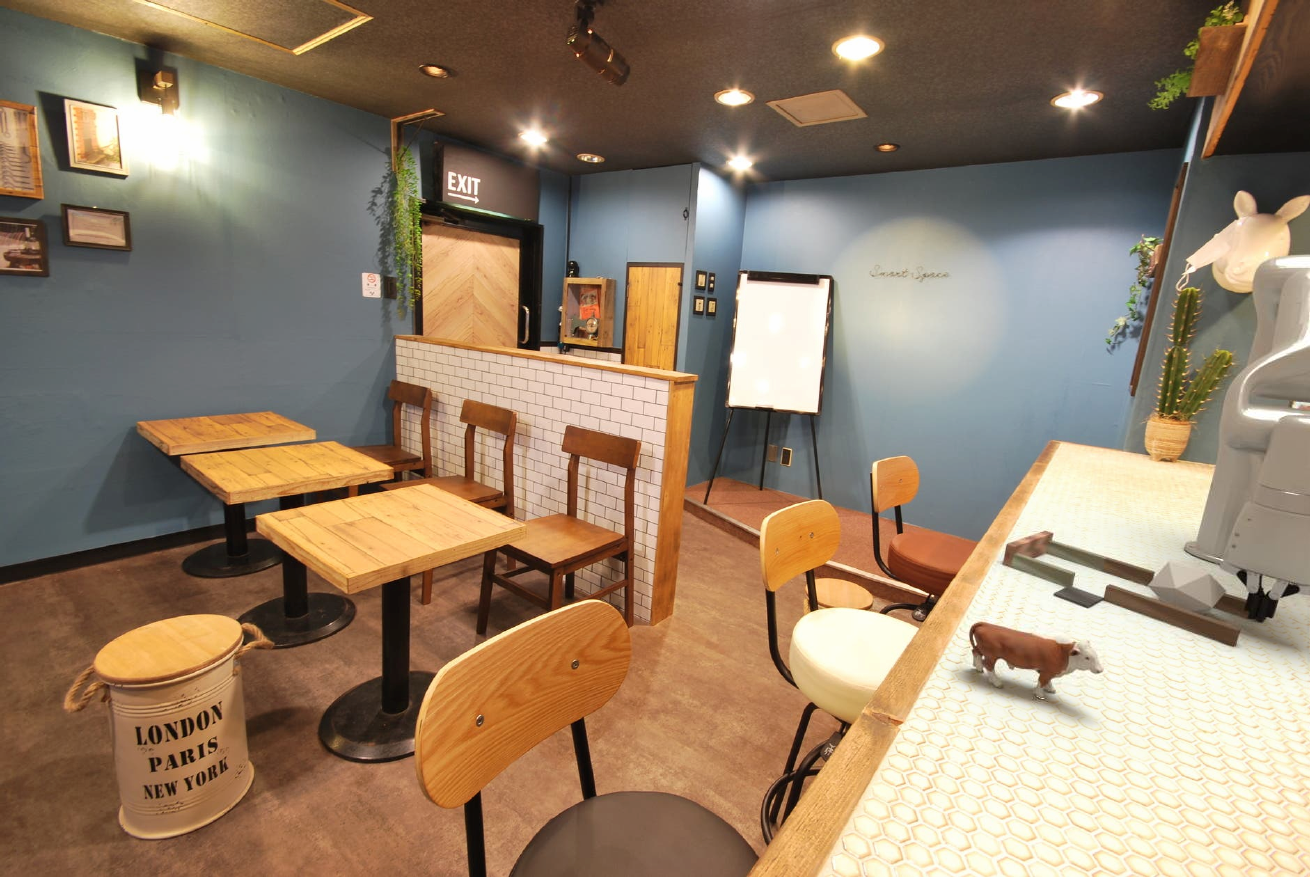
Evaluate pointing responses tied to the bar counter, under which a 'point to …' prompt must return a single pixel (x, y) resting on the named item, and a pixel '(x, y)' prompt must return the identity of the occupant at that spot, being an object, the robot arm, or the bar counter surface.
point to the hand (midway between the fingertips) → (1257, 618)
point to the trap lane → (1041, 543)
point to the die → (1187, 587)
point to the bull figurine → (1030, 654)
